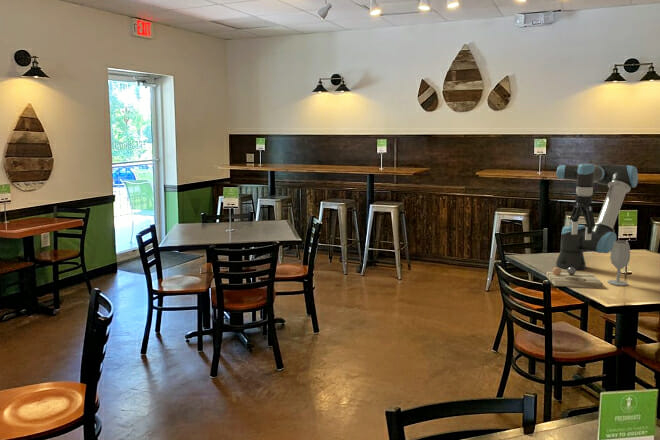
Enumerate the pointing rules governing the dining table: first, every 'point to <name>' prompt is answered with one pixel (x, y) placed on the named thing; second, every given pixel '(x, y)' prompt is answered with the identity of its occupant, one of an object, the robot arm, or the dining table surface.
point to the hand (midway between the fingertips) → (581, 237)
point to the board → (574, 280)
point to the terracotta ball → (556, 270)
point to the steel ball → (571, 270)
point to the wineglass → (620, 259)
